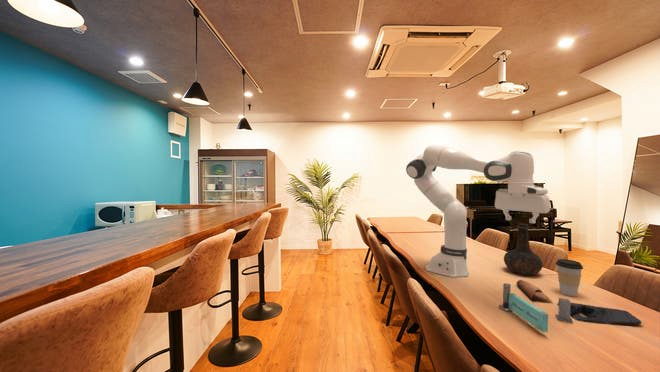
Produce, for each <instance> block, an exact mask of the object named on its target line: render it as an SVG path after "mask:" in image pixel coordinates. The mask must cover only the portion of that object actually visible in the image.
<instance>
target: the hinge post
mask: <svg viewBox="0 0 660 372" xmlns="http://www.w3.org/2000/svg"><path fill="white" fill-rule="evenodd" d="M502 285H503V286H502V287H503V288H502V304H499V305H498V308H499V309H500V310H501V311H504V312H506V313H507V312H508V313H514V312H513V311H512V310H510V309H509V293H511V286H512V285H511V284H510V283H506V282H505V283H503V284H502Z"/></svg>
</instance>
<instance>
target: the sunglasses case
mask: <svg viewBox="0 0 660 372" xmlns="http://www.w3.org/2000/svg"><path fill="white" fill-rule="evenodd" d="M516 286H517V287H518V288H520V290H522V291H523V292H524V293H525V294H526V295H527V296H528V298H530V300H532V301H533V302H535V303H541V304H542V303H543V304H552V305H554V302H553V300H551V299H550V297H548V296H547V294H545V293H544V291H543V290H542V289H540V288H539V287H538V286H536V285H535V284H532V283H530V282H529V281H527V280H526V281H525V280H522V279H519V280H517V282H516Z"/></svg>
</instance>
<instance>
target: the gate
mask: <svg viewBox="0 0 660 372" xmlns="http://www.w3.org/2000/svg"><path fill="white" fill-rule="evenodd" d="M509 309H510V310H512V311H513V312H512V313H515V314H516V315H517V316H519V317H520V318H522V319H523V320H525V322H527V323H529V324H530V325H532V326H533V327H535V328H536V329H537V330H539V331H541V332H542V333H548V331H549V313H547V312H545V311H543V310H542V309H540V308H539V307H537V306H535V305H534V304H533V303H530V302H529V301H527V300H525V299H523V298H522V297H520V296H519V295H517V294H516V293H512V292H510V293H509Z"/></svg>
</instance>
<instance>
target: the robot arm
mask: <svg viewBox="0 0 660 372" xmlns="http://www.w3.org/2000/svg"><path fill="white" fill-rule="evenodd" d="M534 163H535V162H534V157H533V155H532V154H530V153H529V152H524V151H511V152H510V153H508V154H507V155H504V156H503V157H500V158H497V159H495V160H492V161H491V160H486V159H482V158H481V159H480V158H478V157H474V156H471V155H470V154H467V153H465V152H462V151H461V150H458V149H456V148H452V147H449V146H446V145H438V144H437V145H436V144H434V145H433V144H432V145H428V146H427V147H426V148H425V149H424V152H423V153H422V154H420V155H418V156H417V157H415V158H414V159H412V160H410V161H409V163H408V164H407V165H406V167H405V170H406V174H407V175H408V177H410V178H411V179H414V180H413V183H414V185H416V187H417V189H418V190H419V191H420V192H421V193H422V195H424V196H425V198H426V199H427V200H428V201H429V202H430V203H431V204H432V206H433V205H434V206H435V207H436V208H437V209H438V210H439V211H441V212H442V213H443V224H444V225H443V226H444V244H442V245H441V246H440V252H438V253H436V254H435V255H433V256H432V257H431V258H430V261H429V263H428V264H426V265H425V268H424V269H425V270H426V271H427V272H431V273H435V274H439V275H442V276H446V277H450V278H457V277H460V278H462V277H467V276H469V274H470V273H469V270H468V265H467V259H468V248H467V217H468V216H467V215H468V209H467V207H466V206H465V205H464V204H462V202H461V201H460V200H458V199H457V198H456V197H455V196H454V195H453V194H452V193H451V192H449V191H448V190H447V189H446V188H445V187H444V185H442V184H441V183H440V182H439V181H438V180H437V179H436V178H435V177H434V176H433V173H434V172H436V169H437V167H438V168H442V169H447V170H468V171H474V172H478V173H479V172H480V173H482V174H483V175H484V177H485V178H486V179H487V180H489V181H492V182H499V183H501V182H502V183H507V188H499V189H497V190H496V192H495V200H494V207H495V209H497V210H502V213H503V214H504V216H505V221H512V216H511V215H510V214H509V212H510V211H517V212H528V213H531V214H532V218H529V220H528V221H529V222H528V223H529V224H536V222H537V221H536V220H537V219H538V217H539V216H540V214H548V213H549V212H550V211H551V201H550V198H549V196H548V195H547V194H548V193H549V190H548V189H547V188H543V187H541V186H537V185H535V184H534V183H535V182H534V179H533V178H534V177H533V176H534V173H535V165H534Z"/></svg>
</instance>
